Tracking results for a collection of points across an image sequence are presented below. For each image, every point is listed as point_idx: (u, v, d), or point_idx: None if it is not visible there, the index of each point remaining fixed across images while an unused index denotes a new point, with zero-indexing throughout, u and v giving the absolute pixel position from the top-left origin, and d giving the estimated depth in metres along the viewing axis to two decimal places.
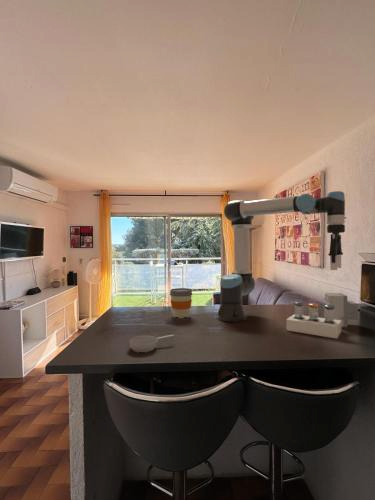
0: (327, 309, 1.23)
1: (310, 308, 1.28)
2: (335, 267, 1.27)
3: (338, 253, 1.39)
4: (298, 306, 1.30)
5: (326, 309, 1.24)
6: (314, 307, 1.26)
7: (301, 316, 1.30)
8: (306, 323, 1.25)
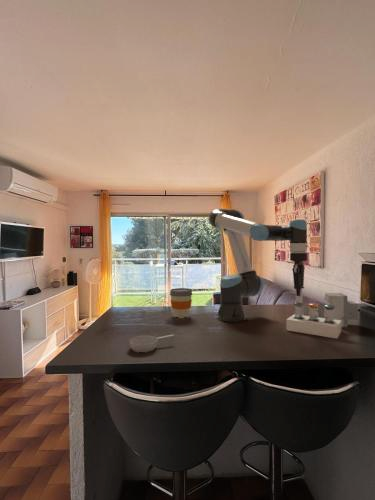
0: (327, 309, 1.23)
1: (310, 308, 1.28)
2: (300, 300, 1.31)
3: None
4: (298, 306, 1.30)
5: (326, 309, 1.24)
6: (314, 307, 1.26)
7: (301, 317, 1.30)
8: (306, 323, 1.25)
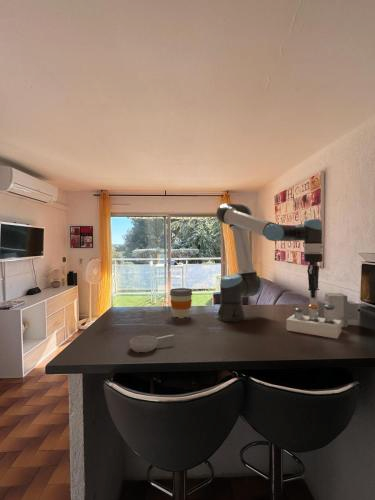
0: (327, 309, 1.23)
1: (310, 309, 1.28)
2: (315, 302, 1.27)
3: None
4: (298, 312, 1.31)
5: (326, 309, 1.24)
6: (314, 308, 1.26)
7: None
8: (306, 323, 1.25)
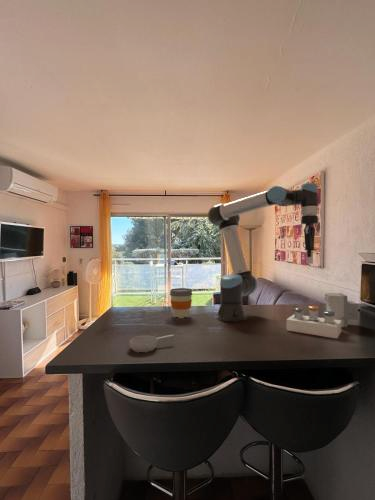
0: (327, 316, 1.23)
1: (310, 311, 1.28)
2: (311, 261, 1.36)
3: None
4: (298, 312, 1.31)
5: (326, 315, 1.24)
6: (314, 310, 1.26)
7: None
8: (306, 323, 1.25)
